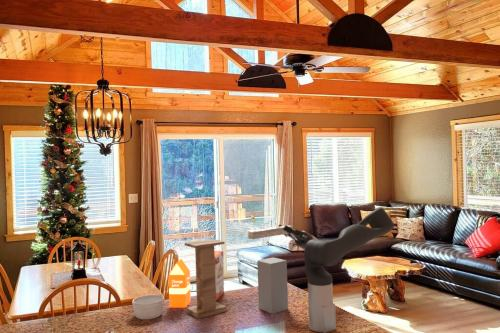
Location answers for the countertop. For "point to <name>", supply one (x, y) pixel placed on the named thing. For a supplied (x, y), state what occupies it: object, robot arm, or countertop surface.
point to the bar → (267, 232)
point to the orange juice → (179, 285)
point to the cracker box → (219, 273)
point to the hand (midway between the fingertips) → (281, 227)
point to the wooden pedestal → (205, 279)
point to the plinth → (272, 285)
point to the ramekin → (148, 306)
